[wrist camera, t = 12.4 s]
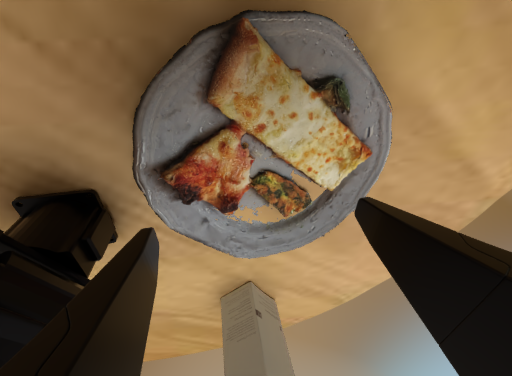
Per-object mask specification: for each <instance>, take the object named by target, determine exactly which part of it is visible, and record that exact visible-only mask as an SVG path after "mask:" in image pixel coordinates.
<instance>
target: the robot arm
mask: <svg viewBox="0 0 512 376" xmlns="http://www.w3.org/2000/svg"><path fill="white" fill-rule="evenodd" d="M88 194H90V195H92V196H89V195H88ZM19 202H20V203H22V204H20V203H19ZM12 206H13V207H14V208H15V209H16V211H17V212H18V213H19V215H20V216H21V218H19V219H18V220H17V221H16V222H15V223H14V224H13V225H12V226H11V227H10V228H9V229H8V230H7V231H6V232H5V233H3V232H4V231H2V230H0V376H140V374H141V368H142V363H143V358H144V352H145V347H146V341H147V336H148V330H149V325H150V320H151V314H152V309H153V303H154V298H155V293H156V287H157V276H158V260H159V242H158V239H157V236H156V233H155V230H154V228H152V227H150V228H143V229H141V230H140V231H139V232H138V233H137V234H136V235H135V236H134V237H133V238H132V239H131V240H130V241H129V242H128V243H127V244H126V245H125V246H124V247H123V248H122V249H121V250H120V251H119V252H118V253H117V254H116V255H115V256H114V257H113V258H112V259H111V260H110V261H109V262H108V263H107V264H106V265H105V266H104V267H103V269H102V270H101V271H100V272H99V273H98V274H97V275H96V276H95V277H94V278H93V279H92V280H89V279H88V277H89V275H90V273H91V271H92V268H93V266H94V264H95V262H96V261H99V260H101V258H102V257H103V255H104V253H105V250H106V248H107V246H108V244H109V243H114V242H116V240H117V238H118V237H117V234H116V232H115V227H114V224H113V222H112V220H111V218H110V216H109V214H108V212H107V210H106V209H104V207H103V205H102V203H101V201H100V199H99V196H98V194H97V193H96V192H95V191H93V190H82V191H73V192H64V193H54V194H45V195H36V196H27V197H18V198H16V199H15V200H14V201H12ZM355 217H356V219H357V221H358V223H359V225H360V226H361V228H362V230H363V232H364V234H365V236H366V237H367V239H368V241H369V243H370V244H371V246H372V248H373V249H374V251H375V252H376V254H377V255H378V257H379V258H380V259H381V261H382V262H383V264H384V265H385V267H386V268H387V270H388V271H389V273H390V274H391V276H392V277H393V278H394V280H395V282H396V283H397V285H398V286H399V287H400V289H401V290H402V292H403V293H404V295H405V296H406V298H407V299H408V301H409V302H410V304H411V305H412V307H413V308H414V310H415V311H416V313H417V314H418V315H419V317H420V318H421V320H422V321H423V323H424V324H425V326H426V327H427V329H428V330H429V332H430V333H431V334H432V336H433V338H434V339H435V341H436V342H437V343H438V344H439V347H440V348H441V349H442V351H443V353H444V354H445V356H446V357H447V359H448V360H449V362H450V363H451V364H452V366H453V367H454V369H455V370H456V372H457V373H458V375H459V376H512V252H509V251H507V250H504V249H501V248H498V247H495V246H493V245H490V244H487V243H485V242H482V241H479V240H477V239H474V238H471V237H469V236H466V235H464V234H461V233H457V232H456V231H454V230H451V229H449V228H446V227H444V226H441V225H438V224H436V223H433V222H431V221H428V220H426V219H423V218H421V217H418V216H416V215H413V214H411V213H408V212H406V211H403V210H401V209H398V208H396V207H393V206H390V205H388V204H385V203H383V202H380V201H378V200H375V199H373V198H370V197H363V198H360V199H359V200H358V202H357V206H356V209H355ZM111 238H113V239H111Z"/></svg>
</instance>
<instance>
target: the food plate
mask: <svg viewBox="0 0 512 376" xmlns="http://www.w3.org/2000/svg"><path fill="white" fill-rule="evenodd" d="M346 33H347V34H349V33H348V32H347V31H346V30H345V29H343V28H342V27H340V25H338V24H337V23H336V22H335V21H334V22H333V20H332V19H330V18H327V17H324V16H322V15H319V14H314V13H310V12H306V11H293V12H292V11H283V12H282V11H280V12H279V11H277V12H275V11H272V12H270V11H268V12H266V11H256V10H254V11H253V10H252V11H251V10H247V11H243V12H240V14H238V15H236V16H234V17H233V18H231V19H230V20H228V21H227V20H226V22H223V23H220V24H218V25H217V24H216V26H215V25H212V26H209V27H208V28H206V29H204V30H202V31H200V32H198V33H197V34H196V35H194V36H193V37H192V38H191V40H190V41H189V43H187V45H184V46H183V47H181V48H180V49H179V50H178V51H177V52H176V53H175V54H174V55H173V56H174V57H173V58H172V59H170V60H169V61H168V63H167V64H166V65H164V67H162V68H161V69H160V70H159V72H158V73H157V74H156V76H155V77H154V78H153V79H152V81H151V82H150V84H149V85H148V87H147V89H146V90H145V92H144V94H143V95H142V96H141V100H140V103H139V105H138V107H137V108H136V112H135V117H134V124H133V130H132V132H133V146H134V147H133V158H134V160H133V166H132V167H133V168H132V169H133V175H134V179H135V181H136V183H137V186H138V187H139V189H140V190H141V191H142V192H144V193H145V194H143V195H144V196H145V197H146V199H147V201H148V205H149V206H151V208H152V209H153V210H154V212H155V213H156V214H157V215H158V217H159V218H160V219H161V220H162V221H163V222H164V223H165V224H166V225H167V226H168V227H169V228H170V229H172V230H174V231H175V232H177V233H178V232H179V234H182V235H185V236H186V237H188V238H191V239H193V240H196V241H197V242H198V241H199V242H200V243H203V244H204V245H206V246H209V247H212V248H214V249H216V250H219V251H221V252H224V253H226V254H227V253H229V254H230V255H233V257H237V258H238V257H239V258H248V259H250V258H257V257H266V256H269V255H272V254H277V253H281V252H286V251H289V250H293V249H296V248H299V247H302V246H304V245H305V244H308V243H311V242H312V241H314V240H316V239H317V238H319V237H321V236H323V237H324V234H325V233H326V232H330V230H331V229H333V228H335V227H336V226H337V225H339V223H340V222H342V221H343V220H344V219H345V218H346V217H347V216H348V215H349V214H350V213H351V212H352V211H353V212H354V210H355V209H356V206H357V202H358V200H359V199H360V198H363V197H366V195H367V193H368V192H369V190H370V188H371V187H372V186H373V185H374V183H375V182H376V181H377V179H378V177H379V175H380V173H381V171H382V170H383V167H384V165H385V162H386V159H387V157H388V154H389V150H390V146H391V143H392V142H391V139H392V136H391V135H392V133H391V132H392V131H391V123H392V112H391V109H390V107H389V106H388V105H389V104H390V106H391V103H390V101H389V99H388V97H387V95H386V94H385V92H384V90H383V88H382V86H381V85H380V83H379V81H378V80H377V78H376V76H375V74H374V73H373V72H372V70H371V68H370V66H369V65H368V63H367V62H366V60H365V58H364V57H363V55H362V54H361V52H360V50H359V49H357V48H358V47H357V46H355V47H354V44H353V43H354V41H353V40H352V38H351V39H348V37H346ZM355 45H356V44H355ZM359 52H360V54H361V56H362V57H361V56H360V54H359ZM362 58H363V59H362ZM379 86H380V87H379ZM381 89H382V90H381ZM382 91H383V92H382ZM383 93H384V94H385V95H384V94H383ZM385 96H386V98H387V99H386V98H385ZM387 100H388V101H387ZM388 102H389V104H387V103H388ZM391 108H392V106H391ZM392 110H393V109H392ZM243 142H247V143H248V144H249V147H248V148H244V147H243V146H242V144H243ZM265 158H267V159H265ZM279 170H280V171H279ZM292 170H294V173H295V174H298V175H300V176H302V177H305V178H308V181H310V182H311V181H313V182H314V183H316V184H318V185H320V187H321V186H322V187H325V188H327V189H326V190H325V191H324V192H323V193H322V194H321V195H320V196H319V197H318V198H317V199H316V200H315V201H313V202H312V201H311V198H310V195H309V193H307V192H304V191H303V190H301V189H300V188H299V187H298V186H297V184H296V182H295V184H296V185H295V184H294V180H291V179H292V176H291V172H292ZM285 177H286V178H285ZM253 203H255V205H254V204H253ZM269 203H271V204H273V206H274V207H275V208H277V209H278V210H279V212H280V213H282V215H283V216H284V217H287V216H288V215H289V214H291V213H293V211H296V212H298V211H300V210H301V209H304V208H306V209H305V210H303V211H302V212H300V213H298V214H296V215H295V216H293V217H292V216H291V217H289V218H288V219H286V220H285V219H281V220H280V221H279V222H275V223H273V222H271V223H270V222H268V223H267V224H262V222H260V221H259V222H258V221H257V220H256V221H255V220H252V222H253V223H252V224H249V223H247V221H241V219H238V218H236V216H235V215H233V214H234V212H235V210H237V209H238V207H240V206H241V205H244V206H243V207H240V210H244V207H245V206H247V208H250V209H251V208H252V209H253V210H254V211H255V208H257V207H261V206H263V205H265V204H267V205H266V206H267V207H268V206H269ZM308 205H309V206H308ZM213 206H214V207H213ZM307 206H308V207H307ZM215 209H218V210H219V211H217V210H215ZM271 209H272V208H271ZM257 212H258V211H256V213H254V215H256V216H258V214H257ZM225 215H233V216H231V217H235V218H236V220H237V219H238V220H239V221H235V220H232V219H227V217H228V216H225ZM239 217H240V218H242V216H239ZM229 218H230V216H229ZM215 219H218V220H215ZM277 219H278V218H277ZM248 222H249V220H248Z"/></svg>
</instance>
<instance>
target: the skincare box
mask: <svg viewBox="0 0 512 376" xmlns="http://www.w3.org/2000/svg"><path fill="white" fill-rule="evenodd" d="M221 313H222V333H223V354H224V373H225V376H295V375H294V371H293V367H292V364H291V359H290V356H289V352H288V348H287V344H286V340H285V336H284V333H283V329H282V325H281V321H280V317H279V313H278V309H277V305H276V302H275V300H273V299H272V298H270V297H269V296H267V295H266V294H265V293H263V292H262V291H261V290H260V289H259V288H257V287H256V286H255V285H254V284H253V283H252V282H248V283H246V284H245V285H243V286H241V287H239V288H238V289H236V290H234V291H232V292H231V293H229V294H227V295H225V296H224V297H222V298H221Z"/></svg>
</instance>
